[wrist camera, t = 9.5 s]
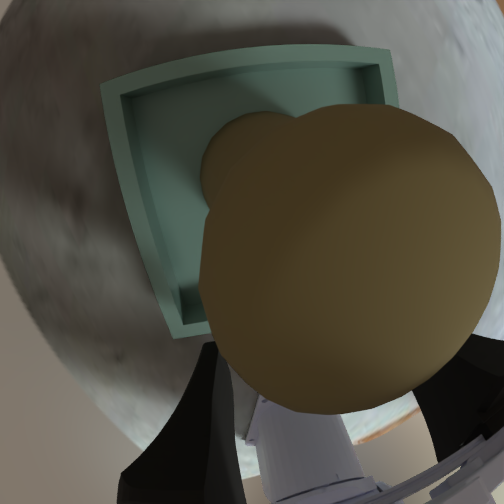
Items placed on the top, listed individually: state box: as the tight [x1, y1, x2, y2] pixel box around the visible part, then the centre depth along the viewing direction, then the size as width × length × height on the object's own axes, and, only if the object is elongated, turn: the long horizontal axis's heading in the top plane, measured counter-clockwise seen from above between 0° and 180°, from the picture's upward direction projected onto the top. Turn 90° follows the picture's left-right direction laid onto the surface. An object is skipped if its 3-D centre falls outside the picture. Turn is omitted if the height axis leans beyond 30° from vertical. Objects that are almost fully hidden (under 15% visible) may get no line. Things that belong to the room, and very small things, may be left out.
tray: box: [100, 44, 399, 339], centre depth 13 cm, size 13×13×2 cm
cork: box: [198, 104, 501, 415], centre depth 8 cm, size 6×6×11 cm
